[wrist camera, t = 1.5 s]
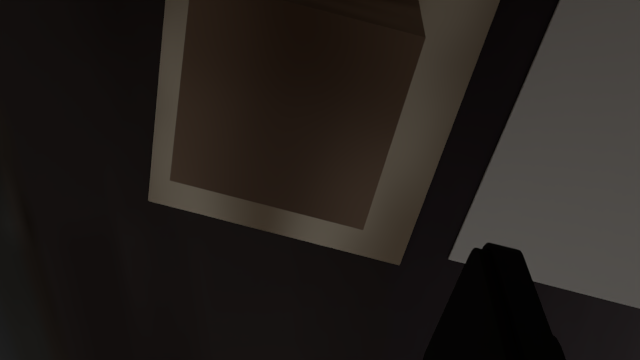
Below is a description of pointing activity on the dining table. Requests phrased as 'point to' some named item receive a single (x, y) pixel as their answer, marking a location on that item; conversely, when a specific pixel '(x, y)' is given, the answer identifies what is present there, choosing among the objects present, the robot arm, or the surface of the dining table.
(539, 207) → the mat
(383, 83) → the walnut block
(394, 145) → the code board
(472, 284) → the robot arm
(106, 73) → the dining table surface
